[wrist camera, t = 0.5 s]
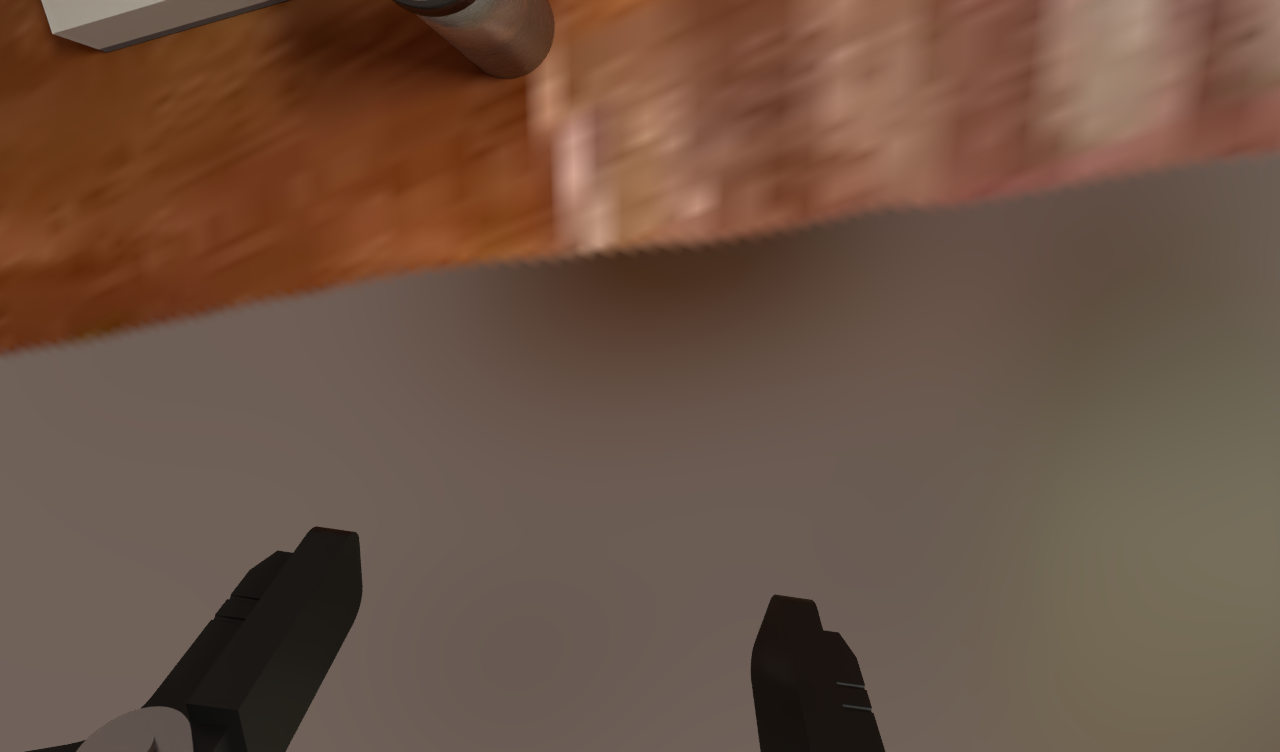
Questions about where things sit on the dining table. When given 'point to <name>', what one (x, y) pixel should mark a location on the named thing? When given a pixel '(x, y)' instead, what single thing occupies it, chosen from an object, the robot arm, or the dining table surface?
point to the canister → (492, 31)
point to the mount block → (137, 18)
